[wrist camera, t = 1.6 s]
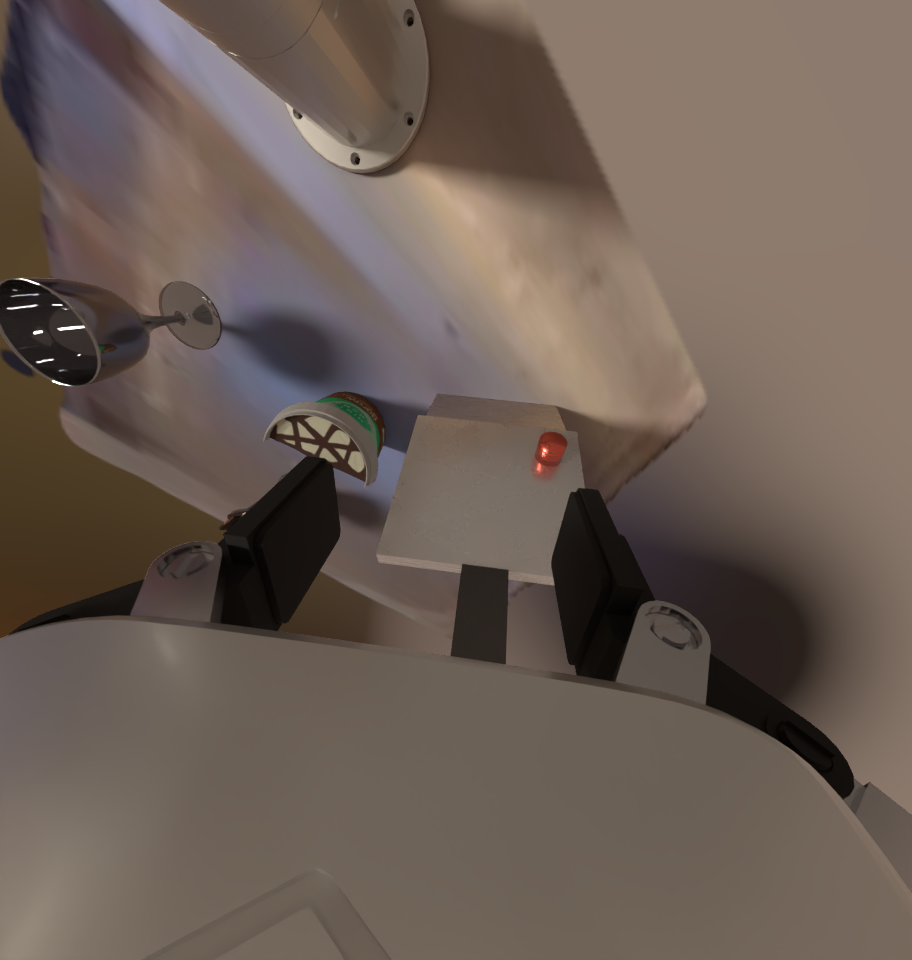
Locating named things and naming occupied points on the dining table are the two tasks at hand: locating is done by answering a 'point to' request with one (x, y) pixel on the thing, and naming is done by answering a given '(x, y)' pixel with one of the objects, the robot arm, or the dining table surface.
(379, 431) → the food container
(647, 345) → the dining table surface
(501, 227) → the dining table surface
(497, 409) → the white hinged box
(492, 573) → the lid
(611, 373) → the dining table surface
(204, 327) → the wine glass
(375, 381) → the dining table surface
